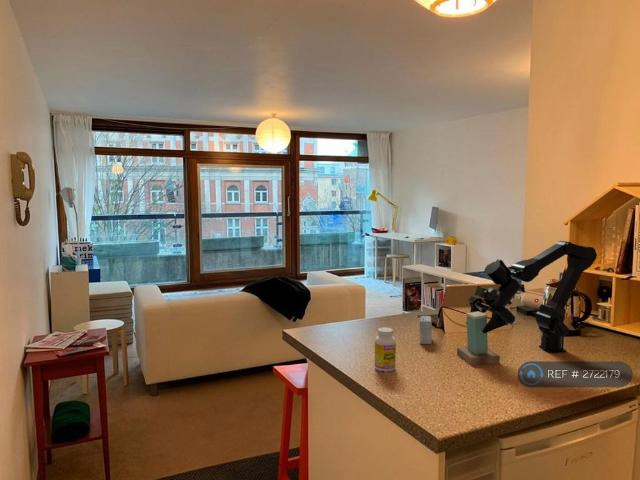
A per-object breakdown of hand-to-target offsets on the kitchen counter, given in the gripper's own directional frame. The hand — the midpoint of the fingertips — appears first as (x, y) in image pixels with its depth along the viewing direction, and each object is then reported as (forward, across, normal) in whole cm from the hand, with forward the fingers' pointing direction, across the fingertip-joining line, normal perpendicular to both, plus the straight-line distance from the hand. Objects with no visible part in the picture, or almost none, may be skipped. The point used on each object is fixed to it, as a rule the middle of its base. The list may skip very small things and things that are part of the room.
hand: (474, 328), depth 156 cm
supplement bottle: (+30, -1, -15) cm, 33 cm away
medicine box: (+12, -22, +3) cm, 25 cm away
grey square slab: (+7, 0, +9) cm, 11 cm away
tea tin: (+5, 0, +6) cm, 8 cm away
